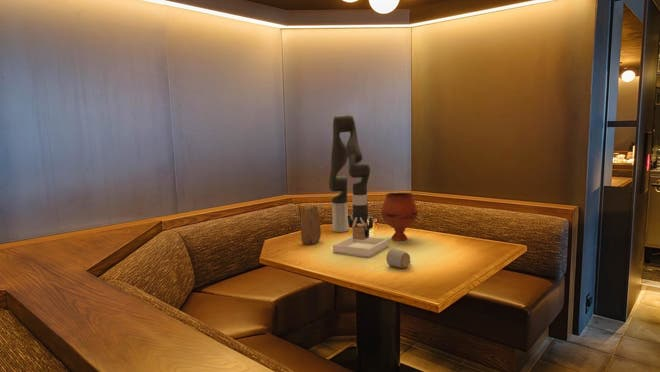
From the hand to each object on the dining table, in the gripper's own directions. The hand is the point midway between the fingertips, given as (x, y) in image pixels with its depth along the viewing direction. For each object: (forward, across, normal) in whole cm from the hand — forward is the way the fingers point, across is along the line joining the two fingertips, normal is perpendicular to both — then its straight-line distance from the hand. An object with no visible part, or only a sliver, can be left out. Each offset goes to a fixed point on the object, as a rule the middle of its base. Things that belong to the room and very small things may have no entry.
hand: (360, 236), depth 213 cm
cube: (+1, 0, 0) cm, 1 cm away
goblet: (+7, -9, -28) cm, 30 cm away
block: (+7, +31, -1) cm, 32 cm away
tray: (+7, 0, 0) cm, 7 cm away
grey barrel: (+7, -27, +16) cm, 32 cm away
